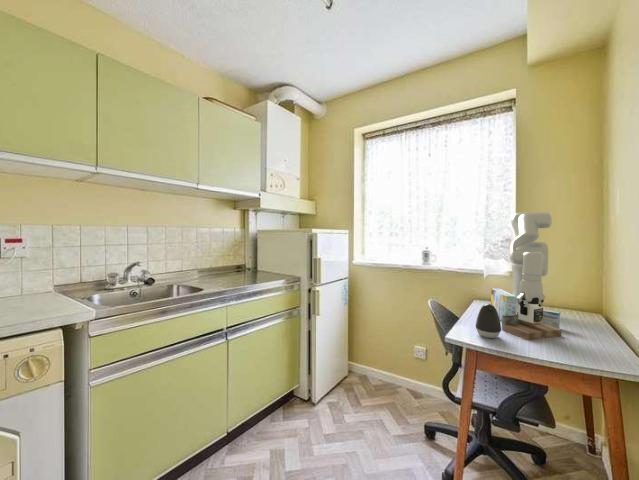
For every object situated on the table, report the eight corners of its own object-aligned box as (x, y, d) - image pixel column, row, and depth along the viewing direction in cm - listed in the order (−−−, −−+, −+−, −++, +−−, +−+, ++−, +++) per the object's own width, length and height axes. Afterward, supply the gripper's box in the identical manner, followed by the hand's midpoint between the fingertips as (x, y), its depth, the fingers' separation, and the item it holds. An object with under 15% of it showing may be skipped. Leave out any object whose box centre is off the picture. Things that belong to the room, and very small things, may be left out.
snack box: (517, 325, 149) (517, 296, 149) (505, 324, 150) (505, 295, 150) (500, 313, 170) (500, 288, 169) (489, 312, 171) (490, 287, 171)
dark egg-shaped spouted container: (477, 338, 130) (477, 305, 130) (474, 331, 140) (474, 300, 139) (503, 342, 127) (504, 307, 126) (498, 334, 136) (499, 302, 136)
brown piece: (533, 326, 147) (533, 312, 147) (561, 335, 134) (562, 320, 134) (501, 329, 142) (502, 315, 142) (527, 339, 129) (528, 323, 129)
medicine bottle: (533, 323, 134) (534, 298, 133) (517, 319, 140) (518, 295, 140) (542, 321, 137) (543, 297, 136) (527, 317, 143) (527, 293, 143)
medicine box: (538, 327, 146) (539, 310, 146) (539, 325, 150) (540, 308, 149) (559, 330, 141) (559, 313, 141) (559, 328, 144) (560, 311, 144)
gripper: (538, 275, 143) (536, 310, 144) (510, 277, 139) (509, 313, 140) (553, 278, 136) (552, 314, 137) (524, 279, 132) (523, 317, 132)
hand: (530, 313), depth 138 cm, fingers closed on medicine bottle, 7 cm apart
